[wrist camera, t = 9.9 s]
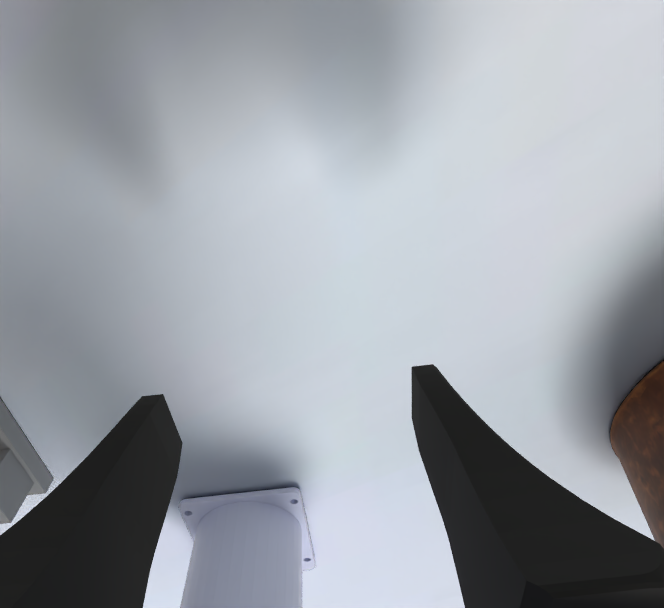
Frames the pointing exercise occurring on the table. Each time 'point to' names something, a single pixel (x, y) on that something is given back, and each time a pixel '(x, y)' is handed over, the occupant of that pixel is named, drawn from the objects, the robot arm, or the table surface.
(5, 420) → the plate with corner studs
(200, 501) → the robot arm
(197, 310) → the table surface
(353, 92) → the table surface
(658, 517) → the case
